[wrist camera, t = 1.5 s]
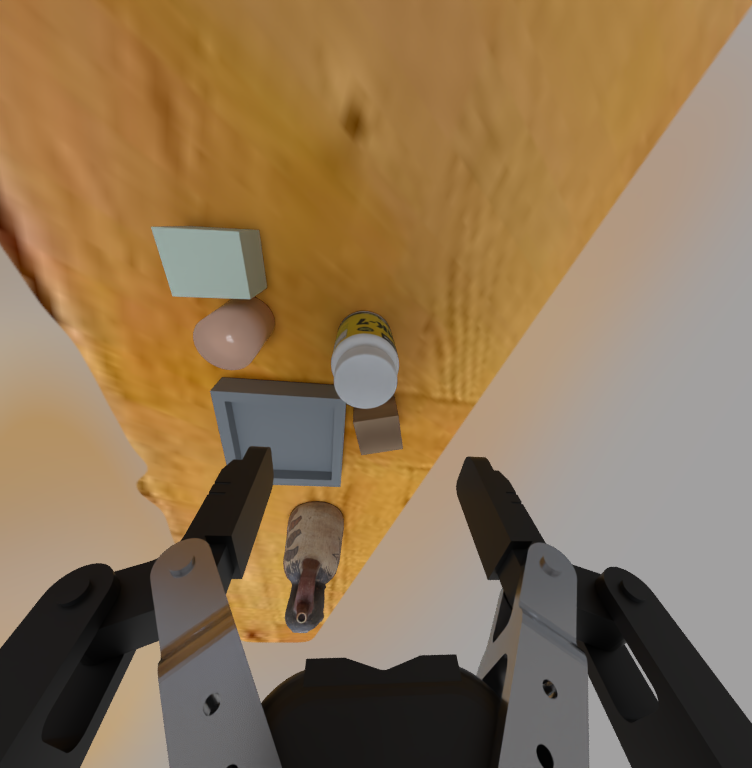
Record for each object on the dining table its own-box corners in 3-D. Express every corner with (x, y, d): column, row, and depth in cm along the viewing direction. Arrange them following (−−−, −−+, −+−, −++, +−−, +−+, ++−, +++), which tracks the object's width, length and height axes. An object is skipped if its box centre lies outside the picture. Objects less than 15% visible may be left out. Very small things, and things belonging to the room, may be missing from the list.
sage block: (187, 225, 20) (151, 226, 16) (259, 229, 20) (238, 231, 17) (202, 284, 22) (172, 296, 18) (267, 287, 22) (250, 299, 19)
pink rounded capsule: (222, 290, 22) (189, 310, 18) (275, 300, 22) (254, 322, 18) (226, 336, 24) (197, 364, 20) (274, 345, 24) (255, 374, 20)
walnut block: (353, 397, 28) (353, 422, 24) (393, 391, 28) (398, 415, 24) (361, 428, 30) (361, 455, 26) (397, 422, 30) (402, 448, 26)
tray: (222, 377, 26) (210, 390, 24) (347, 385, 27) (346, 399, 25) (239, 466, 31) (230, 483, 29) (341, 470, 33) (340, 486, 31)
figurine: (287, 530, 38) (260, 645, 28) (293, 497, 35) (265, 614, 24) (338, 535, 39) (330, 647, 29) (349, 504, 36) (345, 618, 26)
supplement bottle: (401, 327, 24) (419, 372, 17) (373, 368, 26) (378, 425, 19) (354, 298, 23) (351, 333, 15) (327, 344, 25) (314, 395, 17)
